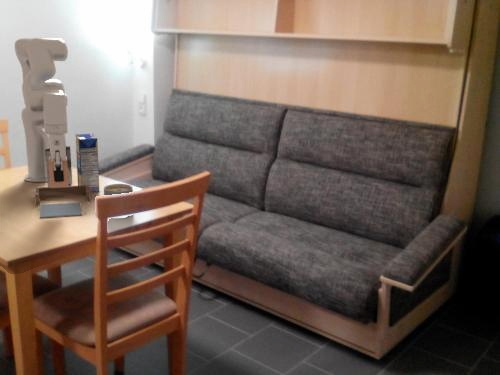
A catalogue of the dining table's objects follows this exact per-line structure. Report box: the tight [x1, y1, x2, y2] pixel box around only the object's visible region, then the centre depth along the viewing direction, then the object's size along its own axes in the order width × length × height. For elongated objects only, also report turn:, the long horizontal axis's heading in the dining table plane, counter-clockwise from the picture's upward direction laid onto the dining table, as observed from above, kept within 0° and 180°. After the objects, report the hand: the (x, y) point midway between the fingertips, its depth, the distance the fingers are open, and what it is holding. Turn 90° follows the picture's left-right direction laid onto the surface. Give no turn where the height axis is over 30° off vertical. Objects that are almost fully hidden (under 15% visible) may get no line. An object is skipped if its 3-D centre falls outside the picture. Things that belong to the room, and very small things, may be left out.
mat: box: [39, 201, 83, 219], centre depth 194 cm, size 14×14×1 cm
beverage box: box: [75, 133, 100, 194], centre depth 218 cm, size 7×11×22 cm, turn 25°
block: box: [49, 156, 69, 188], centre depth 190 cm, size 6×5×10 cm
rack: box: [34, 185, 91, 206], centre depth 206 cm, size 10×19×4 cm, turn 109°
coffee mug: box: [103, 183, 134, 196], centre depth 191 cm, size 13×10×10 cm
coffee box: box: [45, 145, 73, 187], centre depth 223 cm, size 9×6×16 cm
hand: (59, 178), depth 191 cm, fingers closed on block, 5 cm apart
